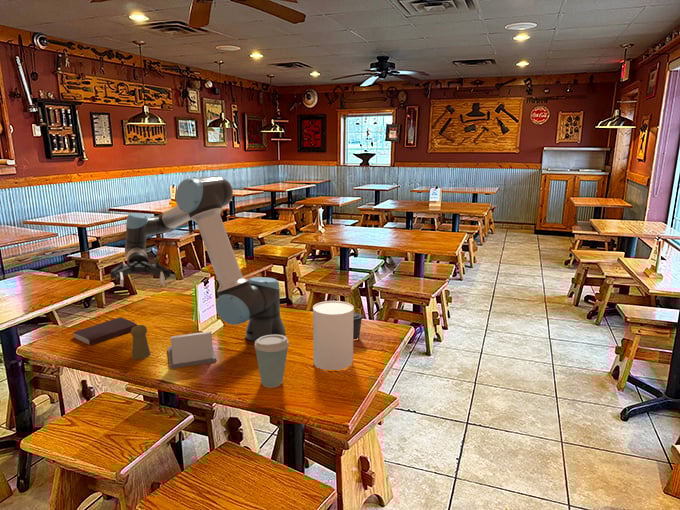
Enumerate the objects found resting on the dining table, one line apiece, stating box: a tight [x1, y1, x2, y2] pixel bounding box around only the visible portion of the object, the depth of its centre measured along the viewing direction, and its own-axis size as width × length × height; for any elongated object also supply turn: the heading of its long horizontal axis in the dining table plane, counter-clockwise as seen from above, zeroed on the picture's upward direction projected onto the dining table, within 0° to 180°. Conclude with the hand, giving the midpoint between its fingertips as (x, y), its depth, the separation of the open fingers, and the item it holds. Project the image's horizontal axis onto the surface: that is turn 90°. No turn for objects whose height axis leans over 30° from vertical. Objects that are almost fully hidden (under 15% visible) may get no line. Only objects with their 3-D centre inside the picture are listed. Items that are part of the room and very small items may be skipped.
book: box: [72, 316, 138, 346], centre depth 182 cm, size 12×19×3 cm, turn 145°
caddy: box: [167, 330, 217, 370], centre depth 162 cm, size 16×15×10 cm
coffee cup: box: [353, 312, 364, 339], centre depth 177 cm, size 8×8×10 cm
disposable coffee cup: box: [253, 334, 290, 389], centre depth 143 cm, size 11×11×15 cm
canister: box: [312, 300, 355, 370], centre depth 156 cm, size 14×14×20 cm
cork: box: [130, 324, 151, 360], centre depth 162 cm, size 6×6×11 cm
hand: (143, 282), depth 163 cm, fingers open, 13 cm apart
